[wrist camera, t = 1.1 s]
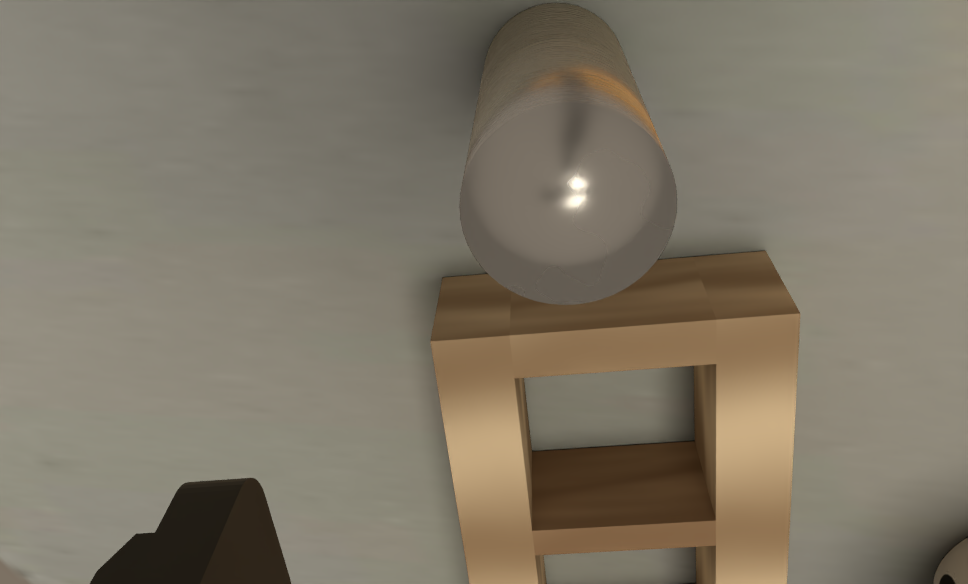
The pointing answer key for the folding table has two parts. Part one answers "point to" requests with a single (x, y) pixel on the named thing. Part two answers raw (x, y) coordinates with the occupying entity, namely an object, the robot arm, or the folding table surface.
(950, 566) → the cup
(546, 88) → the grey rounded cylinder
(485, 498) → the frame
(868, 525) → the folding table surface
